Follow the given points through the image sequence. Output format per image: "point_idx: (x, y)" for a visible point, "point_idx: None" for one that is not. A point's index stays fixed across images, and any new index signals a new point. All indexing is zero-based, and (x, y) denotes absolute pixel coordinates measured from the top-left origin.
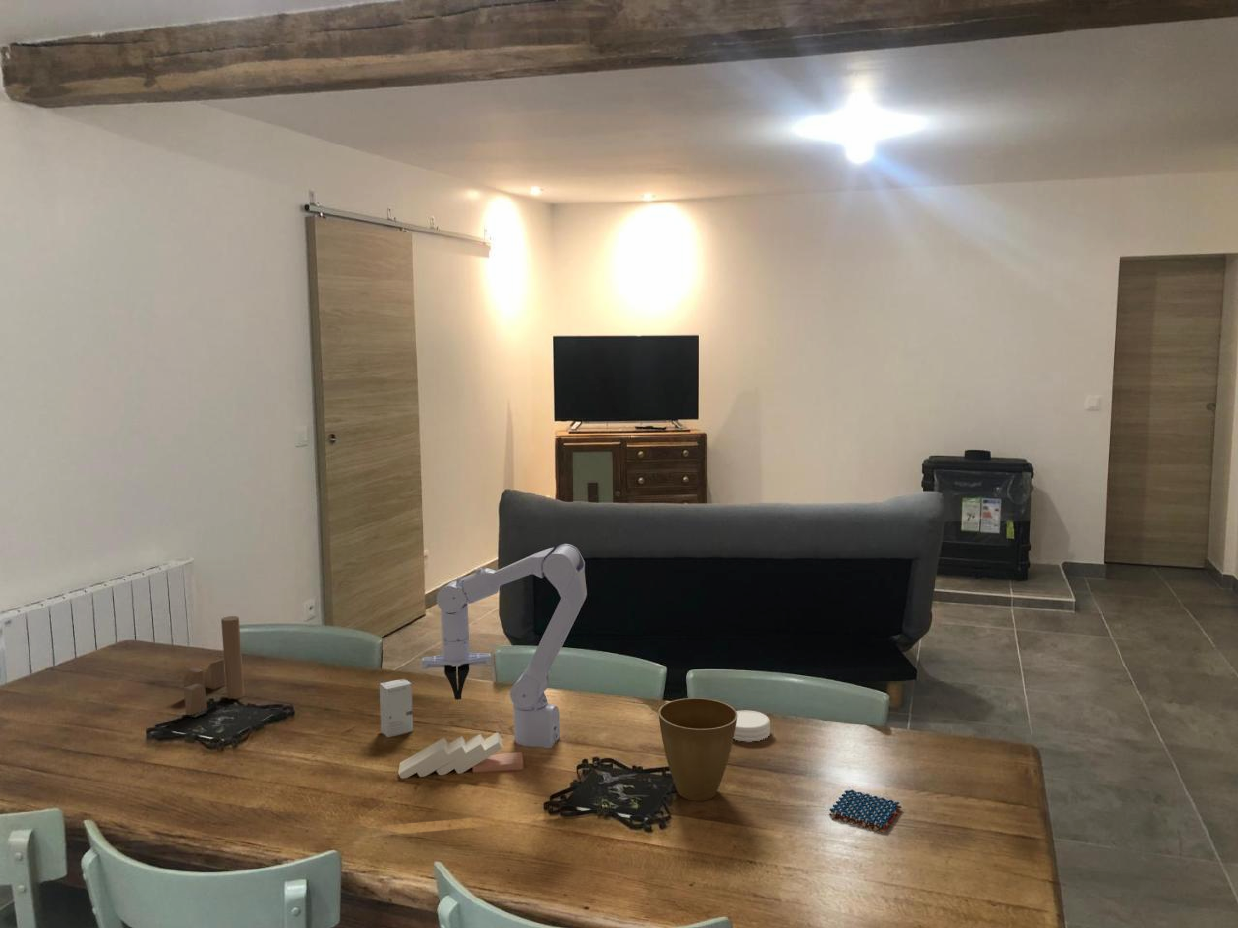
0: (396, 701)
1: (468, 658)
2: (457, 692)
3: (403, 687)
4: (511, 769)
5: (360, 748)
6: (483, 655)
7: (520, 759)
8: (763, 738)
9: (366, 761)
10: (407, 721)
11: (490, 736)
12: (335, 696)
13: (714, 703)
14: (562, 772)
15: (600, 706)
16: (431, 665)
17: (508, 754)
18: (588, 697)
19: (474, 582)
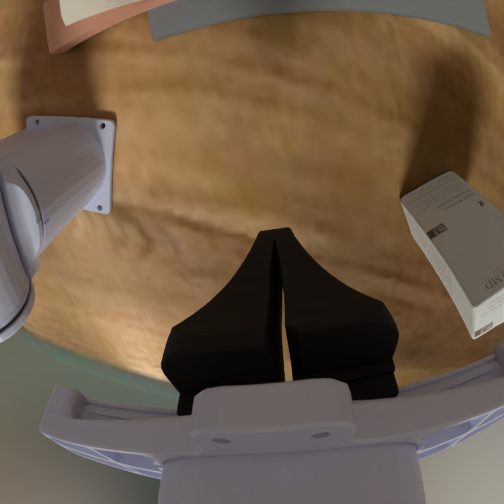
0: (492, 240)
1: (157, 462)
2: (277, 253)
3: (495, 284)
4: None
5: (493, 149)
6: (85, 452)
7: (49, 16)
8: None
9: (479, 76)
10: (430, 213)
11: (92, 4)
12: (478, 342)
13: None
14: (2, 47)
15: (47, 315)
16: (478, 374)
17: (77, 28)
18: (79, 344)
19: None
